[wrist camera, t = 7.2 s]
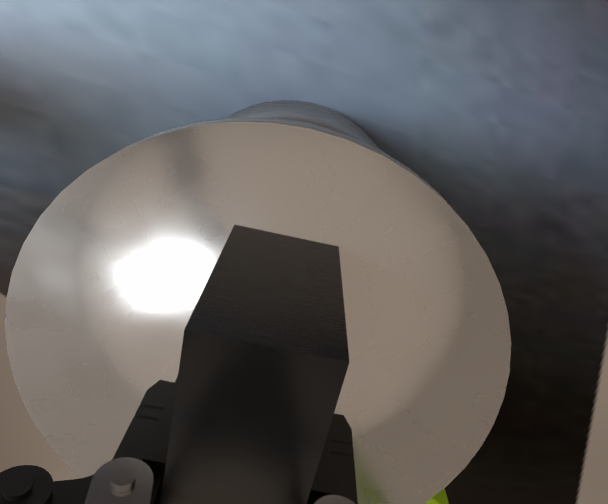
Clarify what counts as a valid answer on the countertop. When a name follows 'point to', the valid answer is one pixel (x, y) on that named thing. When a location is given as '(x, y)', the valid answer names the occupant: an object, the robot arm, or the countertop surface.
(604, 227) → the countertop surface
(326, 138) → the cooker lid
